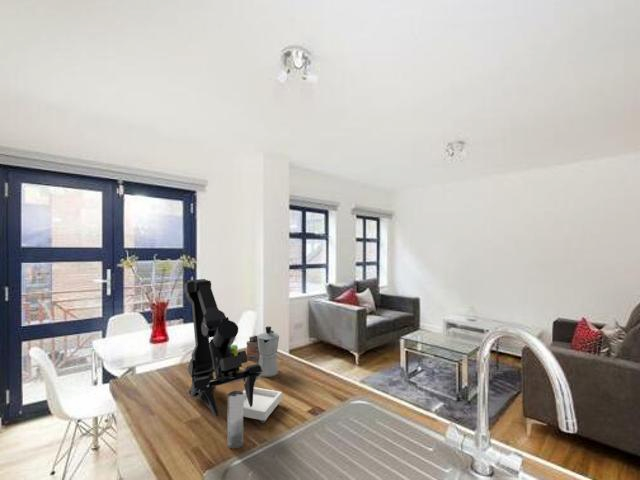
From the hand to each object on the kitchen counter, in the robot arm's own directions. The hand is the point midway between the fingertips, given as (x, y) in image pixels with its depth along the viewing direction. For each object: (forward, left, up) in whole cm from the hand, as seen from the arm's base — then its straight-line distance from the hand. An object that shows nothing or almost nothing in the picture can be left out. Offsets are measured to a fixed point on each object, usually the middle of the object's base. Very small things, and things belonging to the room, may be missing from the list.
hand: (234, 411), depth 83 cm
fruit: (-27, +37, -8) cm, 46 cm away
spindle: (0, 0, -8) cm, 8 cm away
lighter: (-22, +52, -8) cm, 57 cm away
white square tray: (-2, +15, -8) cm, 17 cm away
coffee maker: (-11, +42, -8) cm, 44 cm away
